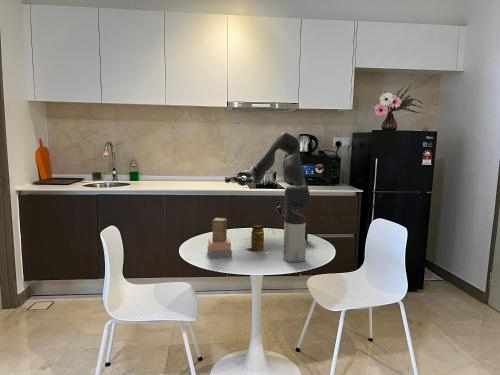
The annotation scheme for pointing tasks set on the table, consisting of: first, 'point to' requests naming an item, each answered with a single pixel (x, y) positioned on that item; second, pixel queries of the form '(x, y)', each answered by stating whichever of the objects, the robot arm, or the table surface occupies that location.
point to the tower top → (219, 245)
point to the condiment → (257, 239)
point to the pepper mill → (279, 210)
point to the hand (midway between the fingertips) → (234, 181)
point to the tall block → (219, 229)
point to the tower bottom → (219, 253)
